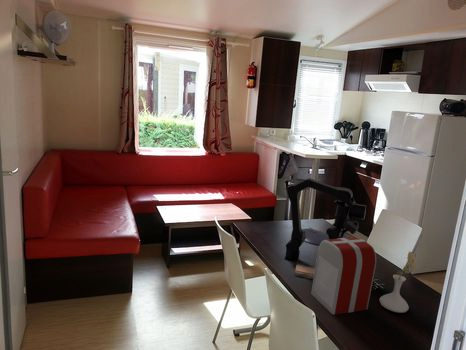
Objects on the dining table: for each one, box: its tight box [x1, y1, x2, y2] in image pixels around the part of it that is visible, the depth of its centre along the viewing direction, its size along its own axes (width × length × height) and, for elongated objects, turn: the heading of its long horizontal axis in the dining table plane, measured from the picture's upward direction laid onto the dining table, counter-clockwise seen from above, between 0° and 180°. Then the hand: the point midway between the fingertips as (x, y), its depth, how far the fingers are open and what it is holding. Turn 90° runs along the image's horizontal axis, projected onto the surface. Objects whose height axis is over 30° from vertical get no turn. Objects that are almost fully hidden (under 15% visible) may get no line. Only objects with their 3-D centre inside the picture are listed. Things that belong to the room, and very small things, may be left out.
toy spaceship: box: [302, 226, 330, 247], centre depth 225 cm, size 28×24×3 cm
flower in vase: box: [379, 250, 419, 314], centre depth 152 cm, size 13×11×25 cm
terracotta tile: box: [294, 264, 315, 276], centre depth 177 cm, size 12×6×2 cm, turn 76°
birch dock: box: [293, 263, 315, 280], centre depth 175 cm, size 23×12×5 cm, turn 72°
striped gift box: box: [310, 237, 377, 315], centre depth 153 cm, size 17×18×27 cm
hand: (336, 244), depth 181 cm, fingers open, 9 cm apart
